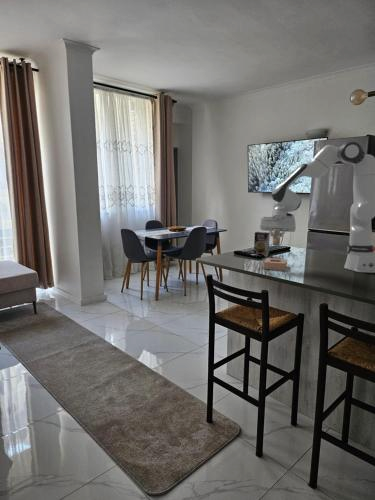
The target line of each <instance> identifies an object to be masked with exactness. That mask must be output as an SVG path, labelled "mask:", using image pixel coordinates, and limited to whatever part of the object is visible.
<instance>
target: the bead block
mask: <svg viewBox="0 0 375 500" xmlns="http://www.w3.org/2000/svg"><path fill="white" fill-rule="evenodd" d="M262 263H263V266H262V267H263V270H272V269H273V271H274V270H276V271H284V272H285V271H286V268H287V265H288V259H285V258H272V257H265V259H264V261H263V262H262Z"/></svg>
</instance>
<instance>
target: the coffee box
mask: <svg viewBox="0 0 375 500" xmlns="http://www.w3.org/2000/svg"><path fill="white" fill-rule="evenodd" d="M270 238H271V236H270V232H269V231H255V232H254V239H253V241H254V242H253V243H254V244H253V245H254V246H253V254H254V253H258V254H262V255H264V256H265V257H264V258H268V257H269V256H268V254H270V253H269V252H270Z"/></svg>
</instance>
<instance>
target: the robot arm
mask: <svg viewBox="0 0 375 500" xmlns="http://www.w3.org/2000/svg"><path fill="white" fill-rule="evenodd" d="M337 162H338V163H341V164H343V165H344V164H346V165H348V164H350V165H351V166H352V167H353V178H352V179H353V180H352V193H353V195H352V196H353V203H352V205H351V206H350V213H349V214H350V216H349V221H350V222H349V228H350V230H349V239H348V244H347V257H346V259H345V260H346V261H345V264H344V266H343V268H344V269H347V270H349V271H354V272H357V273H368V274H369V273H373V274H374V273H375V246H374V245H372V235H373V233H372V232H373V229H372V219H374V218H375V156H374V155H372V154H367V153H366V152H365V151H364V149H363V147H362V146H361V144H360V143H358V142H357V141H348V142H346V143H344V144H342V145H341V146H340V147H337V146H335V145H333V144H326V145H324V146H323V147H322V148H321V149H320V150H319V151H318V152H317V153H316V154H314V157H313V158H311V160H310V161H308V162H306V163H301V164H300V165H299V166H298V167H296V168H295V169H294V170H293V171H292V172H291V173H290V174H289V175H288V176H287V177H285V179H283V180H282V181H281V182H280V183H278V184H277V185H276V186H275V187H274V188H273V189H272V191H271V197H272V200H273V202H274V203H273V206H272V209H273V210H272V213H271V216H264V217H261V219H260V225H259V227H260V228H259V229H260V230H261V232H268V233H270V237H273V229H280V238H283V237H284V235H285V234H286V232H287V233H295V232H296V230H297V229H296V220H295V215H294V214H293V213H291V212H295V211H297V210H298V209H299V208H300V206H301V204H302V197H301V196H300V195H298V194H297V193H296V192H294V191H293V190H291V189H290V187H291V186H292V185H294V183H295V182H297V181H298V180H299V179H300V178H302V177H308V178H312V179H320V178H322V177H324V176H325V175H326V174H327V173H328V172H329V171H330V169H331V168H332V167H333V165H334V164H336V163H337Z"/></svg>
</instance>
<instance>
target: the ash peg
mask: <svg viewBox="0 0 375 500" xmlns="http://www.w3.org/2000/svg"><path fill="white" fill-rule="evenodd" d="M272 232H273V236H272V246H278V247H279V246H280V245H281V244H280V241H281V237H280V233H281V231H280V229H273V231H272Z"/></svg>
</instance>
